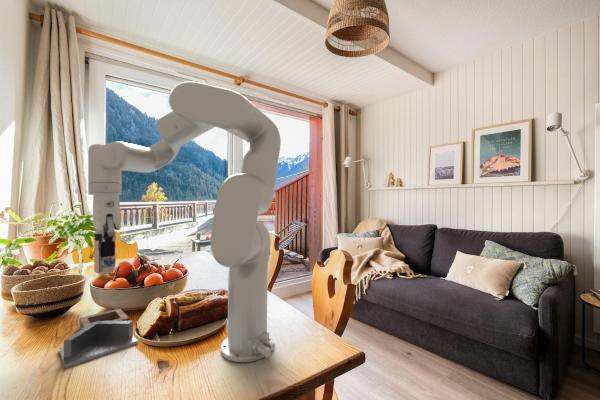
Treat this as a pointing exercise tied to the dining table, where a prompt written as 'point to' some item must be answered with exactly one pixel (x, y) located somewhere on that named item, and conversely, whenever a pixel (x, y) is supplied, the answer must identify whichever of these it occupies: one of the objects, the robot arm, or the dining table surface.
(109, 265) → the beer can
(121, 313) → the grey square frame
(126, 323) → the v block
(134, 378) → the dining table surface
